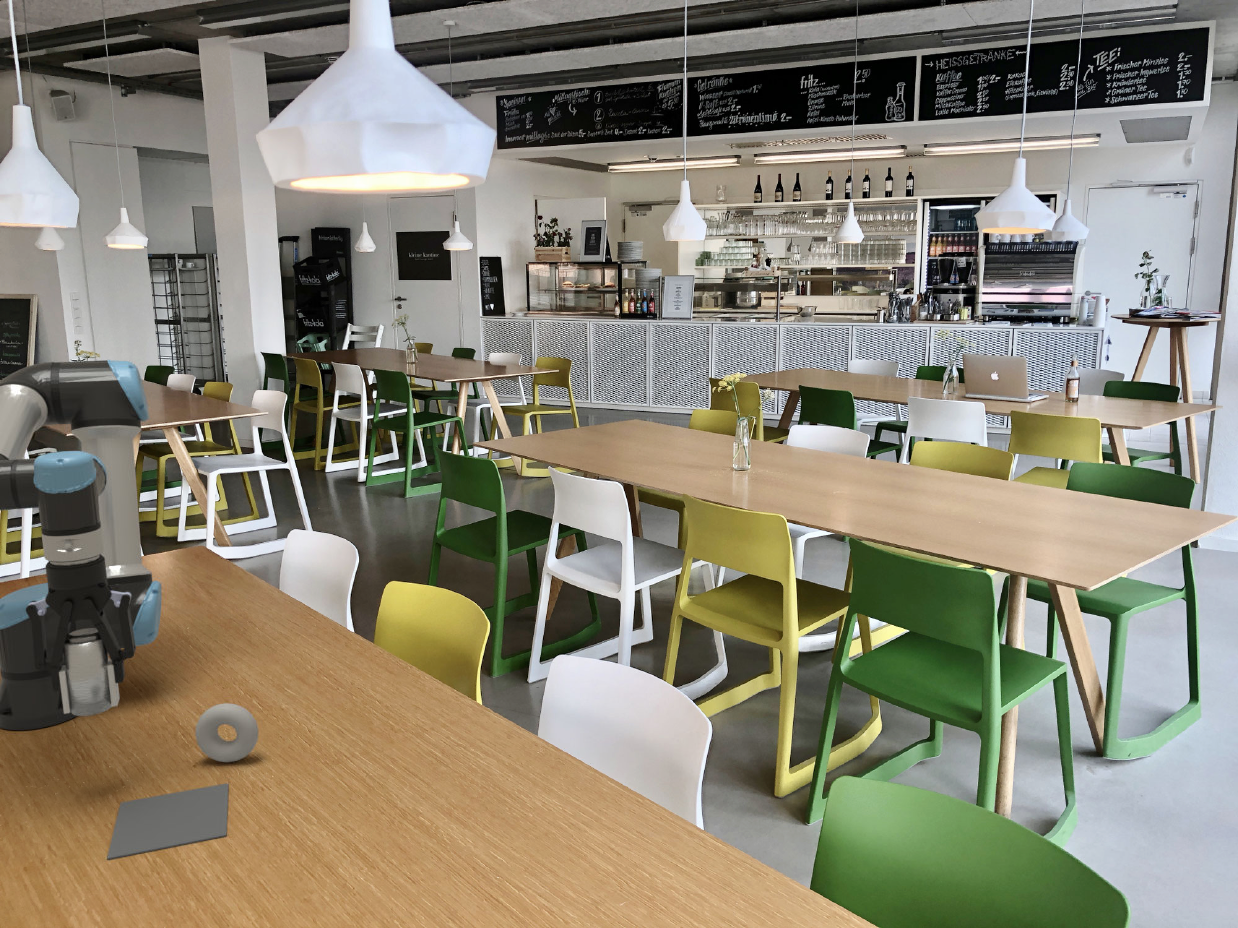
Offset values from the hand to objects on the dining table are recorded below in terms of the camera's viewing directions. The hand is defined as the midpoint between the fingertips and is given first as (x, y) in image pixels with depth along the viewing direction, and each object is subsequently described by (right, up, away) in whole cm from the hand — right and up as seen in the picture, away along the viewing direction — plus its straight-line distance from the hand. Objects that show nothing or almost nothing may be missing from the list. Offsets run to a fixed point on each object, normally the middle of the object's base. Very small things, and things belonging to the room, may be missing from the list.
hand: (92, 705), depth 139 cm
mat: (+14, -16, -4) cm, 21 cm away
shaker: (0, 0, 0) cm, 0 cm away
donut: (+15, -13, +13) cm, 24 cm away
